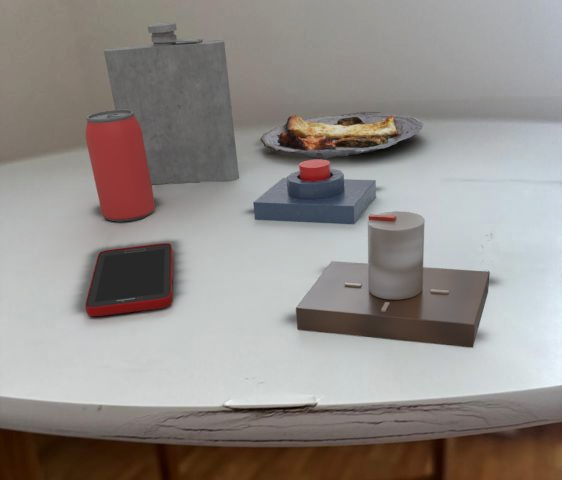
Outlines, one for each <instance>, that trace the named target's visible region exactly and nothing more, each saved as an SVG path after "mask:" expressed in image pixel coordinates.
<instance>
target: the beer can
mask: <svg viewBox="0 0 562 480" xmlns="http://www.w3.org/2000/svg"><path fill="white" fill-rule="evenodd" d="M85 120H86V126H85V142H86V143H85V144H86V146H87V151H88V156H89V160H90V166H91V170H92V175H93V179H94V184H95V189H96V192H97V197H98V202H99V206H100V211H101V215H102V216H103V217H104V218H105V219H106V220H108V221H111V222H120V223H121V222H123V223H124V221H125V222H132V220H133V221H138V220H141V219H144V218H146V217H148V216H150V215H151V214H152V213H153V212H154V211H155V207H156V203H155V197H154V192H153V185H151V180H150V174H149V168H148V163H147V157H146V151H145V146H144V140H143V134H142V130H141V127H140V125H139V123H138V121H137V119H136V118H135V116H134V112H133V111H132V110H124V109H122V110H115V109H109V110H101V111H98V112H93V113H90V114H89V115H87V116H86V118H85ZM137 219H138V220H137Z"/></svg>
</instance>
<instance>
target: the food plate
mask: <svg viewBox="0 0 562 480" xmlns="http://www.w3.org/2000/svg"><path fill="white" fill-rule="evenodd" d="M424 124H425V123H424V122H423V121H421V120H419V119H418V118H417V117H413V116H409V115H404V114H397V113H396V114H395V113H381V112H380V111H363V112H361V111H360V112H359V111H358V112H351V113H343V114H342V113H341V114H335V115H325V116H319V117H318V116H317V117H313V118H307V119H303V117H300V116H299V115H290V116H288V118H287V121H286V123H285V124H284V125H280V126H277V127H275V128H273V129H271V130H269V131H267V132H264V133H263V135H262V136H261V137H260V139H259V141H260V142H261V143H262V144H263V147H265V148H267V149H270V152H272V151H274V152H278V151H279V150H280V151H281V150H282V153H284V154H288V153H298V154H301V155H303V156H307V157H309V158H314V159H315V158H317V159H322V160H327V159H333V158H335V157H348V156H352V155H359V154H363V153H366V154H367V153H370V152H372V153H373V152H375V151H379V150H381V149H386V148H390V147H391V146H395V145H396V144H398V142H401V141H404V140H408V139H410V138H411V139H412V138H413V136H415V135H417V134H419V132H420V131H421V130H422V128H423V127H424ZM272 149H273V150H272Z"/></svg>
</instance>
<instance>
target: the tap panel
mask: <svg viewBox="0 0 562 480" xmlns="http://www.w3.org/2000/svg"><path fill="white" fill-rule="evenodd" d="M490 274H491V271H489V270H488V271H486V270H471V269H456V268H453V269H452V268H444V267H443V268H442V267H441V268H440V267H428V266H427V267H426V266H423V289H422V291H421V292H420V293H419V294H418V295H416V296H414V297H411V298H407V299H400V300H389V299H383V298H379V297H376V296H374V295H372V294H371V293H370V292H369V287H368V262H367V263H365V262H353V261H352V262H350V261H336V260H332V261H330V263H329V264H328V265H327V266H326V268H325V269H324V271H322V273H321V275H320V276H319V277H318V279H317V280H316V281H315V282H314V284H313V285H312V287H310V289H309V290H308V291H307V293H306V294H305V295H304V297H303V298H302V299H301V300H300V301H299V303H298V305H296V307H295V316H296V318H295V319H296V329H297V330H298V331H307V332H317V333H326V334H336V335H345V336H356V337H364V338H374V339H385V340H395V341H403V342H413V343H422V344H423V343H424V344H433V345H444V346H453V347H463V348H472V349H473V348H474V345H475V342H476V338H477V334H478V331H479V328H480V324H481V320H482V317H483V313H484V310H485V305H486V301H487V298H488V295H489V287H490Z"/></svg>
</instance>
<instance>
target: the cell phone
mask: <svg viewBox="0 0 562 480" xmlns="http://www.w3.org/2000/svg"><path fill="white" fill-rule="evenodd" d="M173 275H174V251H173V246H172V244H171V243H170V242H161V243H154V244H146V245H138V246H129V247H121V248H113V249H105V250H101V251H99V253H98V255H97V257H96V261H95V265H94V269H93V272H92V277H91V279H90V280H91V281H90V285H89V288H88V292H87V296H86V300H85V306H84V307H85V311H86V314H87V315H88V316H89V317H103V316H109V315H110V316H111V315H116V314H125V313H126V314H127V313H133V312H142V311H148V310H150V311H151V310H156V309H162V308H168V307H169V306H170V305H171V304H172V303H173V301H174V293H173V284H174V276H173Z"/></svg>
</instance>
